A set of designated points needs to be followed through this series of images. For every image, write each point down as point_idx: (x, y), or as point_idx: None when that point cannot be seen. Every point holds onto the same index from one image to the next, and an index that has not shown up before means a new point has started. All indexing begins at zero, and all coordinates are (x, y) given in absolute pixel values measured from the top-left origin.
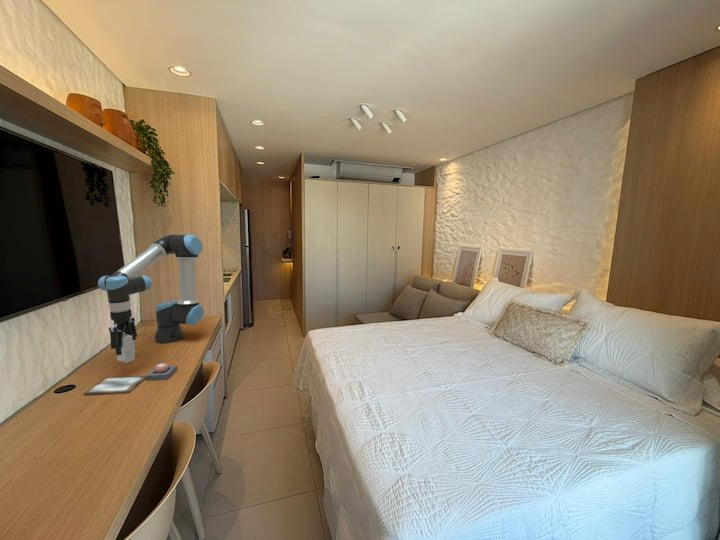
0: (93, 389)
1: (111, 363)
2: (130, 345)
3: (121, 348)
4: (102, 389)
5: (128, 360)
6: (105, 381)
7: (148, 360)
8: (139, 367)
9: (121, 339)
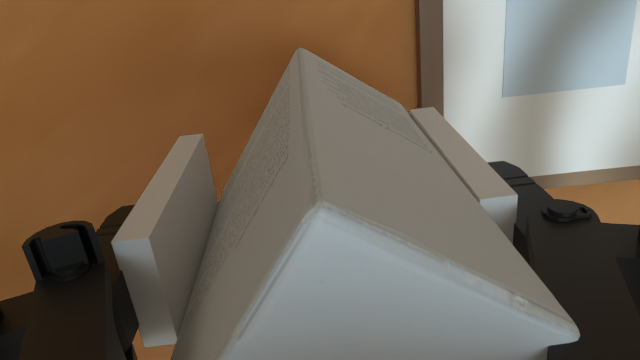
0: (634, 148)
1: (156, 356)
2: (358, 131)
3: (509, 201)
4: None
5: (371, 87)
6: (503, 157)
7: (34, 96)
8: (193, 75)
9: (608, 331)
